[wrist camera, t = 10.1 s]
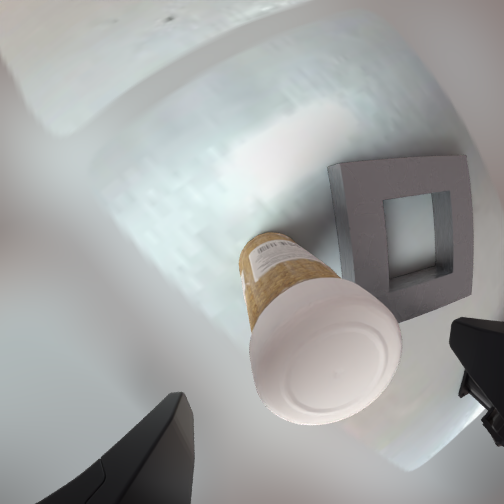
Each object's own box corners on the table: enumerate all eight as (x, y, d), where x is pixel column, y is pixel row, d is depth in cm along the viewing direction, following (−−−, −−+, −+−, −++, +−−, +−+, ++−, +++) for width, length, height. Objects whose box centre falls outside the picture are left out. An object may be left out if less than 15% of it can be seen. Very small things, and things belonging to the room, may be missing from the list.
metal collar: (454, 286, 22) (471, 294, 20) (345, 322, 22) (357, 336, 19) (447, 157, 20) (466, 155, 17) (327, 166, 19) (339, 163, 17)
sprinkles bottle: (232, 287, 20) (237, 426, 7) (246, 224, 20) (279, 282, 6) (294, 298, 21) (371, 428, 8) (310, 238, 20) (429, 308, 7)
